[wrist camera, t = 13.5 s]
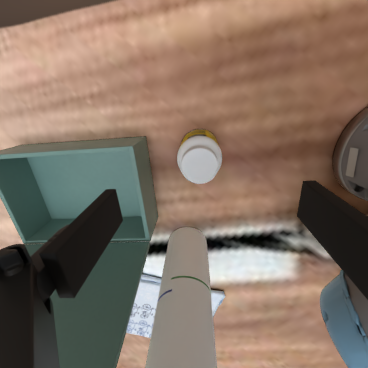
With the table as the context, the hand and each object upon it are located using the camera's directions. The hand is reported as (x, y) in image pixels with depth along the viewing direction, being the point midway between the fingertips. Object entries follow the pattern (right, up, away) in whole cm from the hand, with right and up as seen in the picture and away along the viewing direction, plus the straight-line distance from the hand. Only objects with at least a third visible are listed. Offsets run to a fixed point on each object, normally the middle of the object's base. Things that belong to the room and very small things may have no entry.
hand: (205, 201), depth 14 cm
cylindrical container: (-1, -10, +23) cm, 25 cm away
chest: (-17, +1, +19) cm, 25 cm away
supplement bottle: (+1, +7, +16) cm, 17 cm away
